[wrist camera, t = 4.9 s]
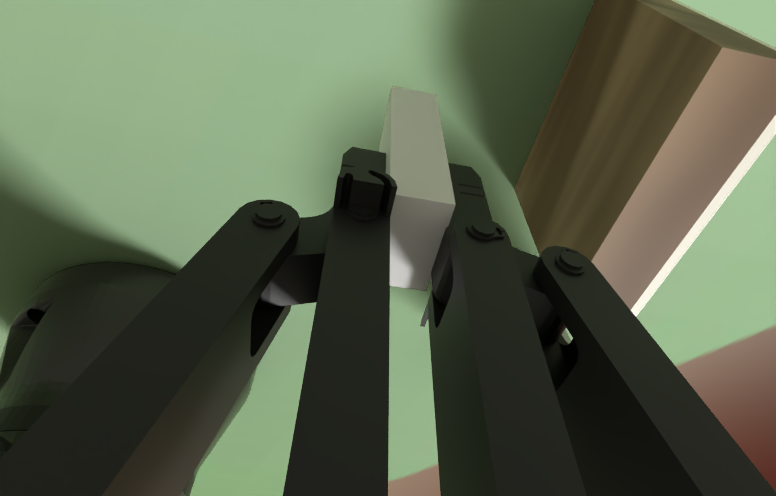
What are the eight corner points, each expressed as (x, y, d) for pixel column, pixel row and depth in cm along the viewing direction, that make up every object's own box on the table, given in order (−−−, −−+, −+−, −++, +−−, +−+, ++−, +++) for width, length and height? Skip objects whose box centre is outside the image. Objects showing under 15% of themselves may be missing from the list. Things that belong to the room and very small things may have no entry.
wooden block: (514, 188, 26) (560, 311, 18) (602, -19, 19) (722, 46, 12) (566, 198, 26) (631, 322, 19) (670, -3, 20) (824, 70, 13)
